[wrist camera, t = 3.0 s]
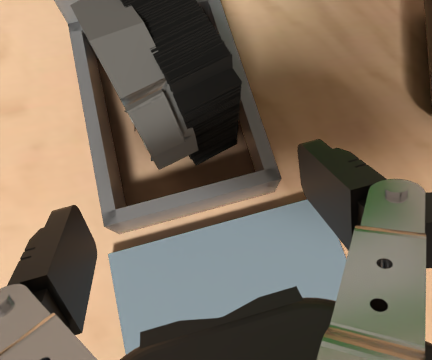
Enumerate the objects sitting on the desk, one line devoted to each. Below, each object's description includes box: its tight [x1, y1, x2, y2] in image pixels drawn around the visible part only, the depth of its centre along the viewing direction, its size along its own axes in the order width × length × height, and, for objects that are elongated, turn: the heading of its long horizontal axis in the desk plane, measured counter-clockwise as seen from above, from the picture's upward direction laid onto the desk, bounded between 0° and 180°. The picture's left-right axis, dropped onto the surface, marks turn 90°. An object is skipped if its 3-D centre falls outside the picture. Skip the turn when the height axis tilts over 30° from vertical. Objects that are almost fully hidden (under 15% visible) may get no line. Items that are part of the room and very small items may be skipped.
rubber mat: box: [108, 199, 346, 354], centre depth 21 cm, size 14×11×1 cm
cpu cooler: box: [70, 0, 242, 170], centre depth 20 cm, size 10×6×10 cm, turn 29°
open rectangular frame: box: [54, 0, 281, 234], centre depth 19 cm, size 11×16×14 cm
